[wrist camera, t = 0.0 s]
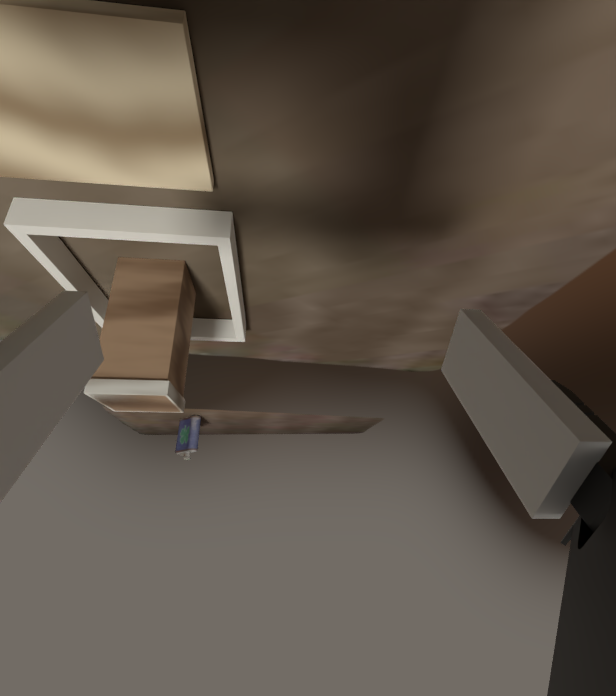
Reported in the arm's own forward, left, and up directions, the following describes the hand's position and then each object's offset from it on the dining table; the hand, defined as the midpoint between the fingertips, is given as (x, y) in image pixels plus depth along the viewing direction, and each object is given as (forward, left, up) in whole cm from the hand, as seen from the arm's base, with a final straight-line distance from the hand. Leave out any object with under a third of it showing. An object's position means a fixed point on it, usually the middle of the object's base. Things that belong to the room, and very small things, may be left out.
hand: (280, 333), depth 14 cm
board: (+3, -12, -15) cm, 20 cm away
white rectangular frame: (+21, -12, -15) cm, 29 cm away
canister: (+21, -12, -15) cm, 29 cm away
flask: (+90, -22, -16) cm, 94 cm away
